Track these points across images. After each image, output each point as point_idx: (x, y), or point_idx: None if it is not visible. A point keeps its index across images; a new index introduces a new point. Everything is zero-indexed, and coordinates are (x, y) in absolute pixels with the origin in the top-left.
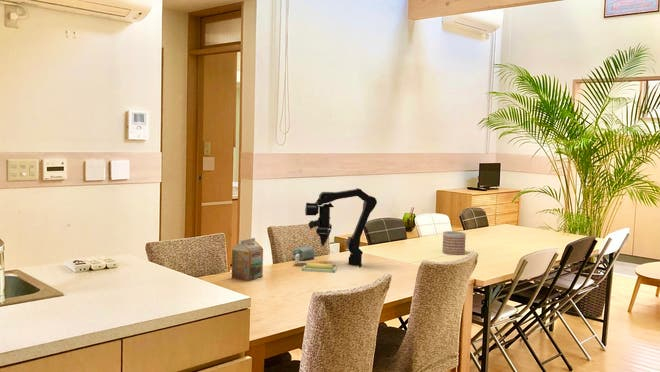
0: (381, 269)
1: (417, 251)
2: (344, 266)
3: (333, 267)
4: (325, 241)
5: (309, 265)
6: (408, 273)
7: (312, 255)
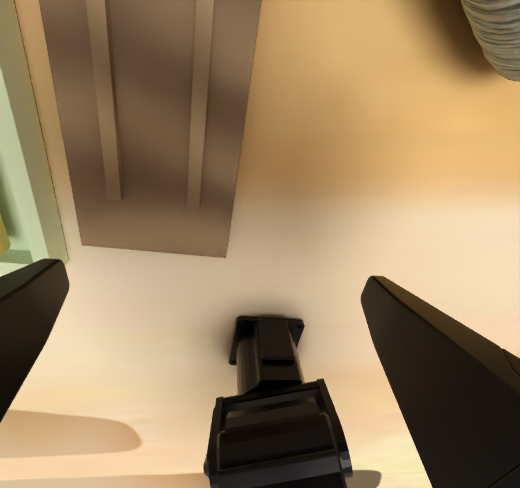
0: (198, 417)
1: None
2: (235, 295)
3: (33, 256)
4: (372, 309)
5: None
6: (151, 470)
7: (486, 51)
